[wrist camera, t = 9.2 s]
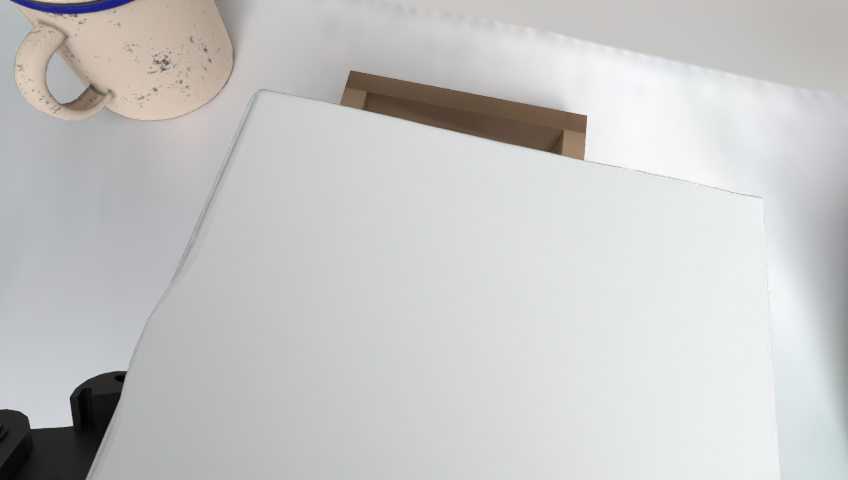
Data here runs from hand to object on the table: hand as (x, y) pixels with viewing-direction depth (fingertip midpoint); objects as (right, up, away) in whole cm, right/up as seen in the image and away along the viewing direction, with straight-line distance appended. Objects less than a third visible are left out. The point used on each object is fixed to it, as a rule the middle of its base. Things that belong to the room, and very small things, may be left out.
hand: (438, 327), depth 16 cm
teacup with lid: (-17, +12, +14) cm, 25 cm away
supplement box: (-1, -5, +4) cm, 7 cm away
